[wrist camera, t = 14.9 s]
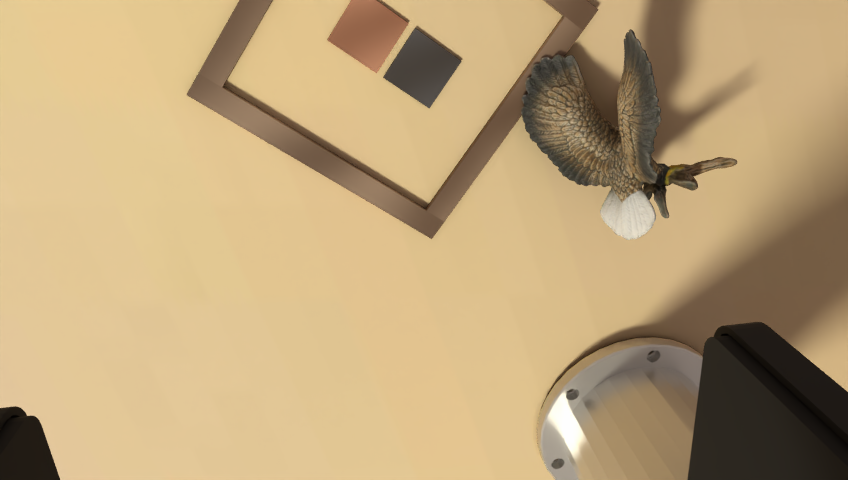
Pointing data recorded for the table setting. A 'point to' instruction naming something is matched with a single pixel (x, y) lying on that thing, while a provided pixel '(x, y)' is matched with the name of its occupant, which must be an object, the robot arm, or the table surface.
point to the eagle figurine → (607, 138)
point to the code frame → (410, 71)
